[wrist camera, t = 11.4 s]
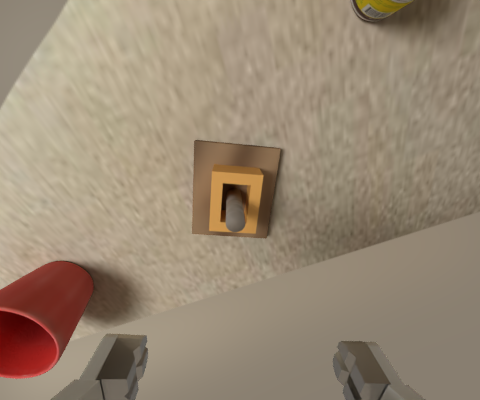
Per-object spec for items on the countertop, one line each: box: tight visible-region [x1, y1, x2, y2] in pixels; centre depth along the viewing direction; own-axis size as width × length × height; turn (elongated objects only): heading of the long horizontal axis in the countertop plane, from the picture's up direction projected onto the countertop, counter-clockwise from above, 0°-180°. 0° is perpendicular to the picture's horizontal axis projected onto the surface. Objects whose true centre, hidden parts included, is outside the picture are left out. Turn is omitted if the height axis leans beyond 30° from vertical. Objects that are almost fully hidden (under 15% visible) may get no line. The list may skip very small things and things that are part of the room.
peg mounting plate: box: [192, 140, 281, 238], centre depth 24 cm, size 10×12×9 cm
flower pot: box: [0, 261, 94, 378], centre depth 28 cm, size 11×11×10 cm
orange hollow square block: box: [209, 164, 264, 234], centre depth 26 cm, size 5×7×4 cm
